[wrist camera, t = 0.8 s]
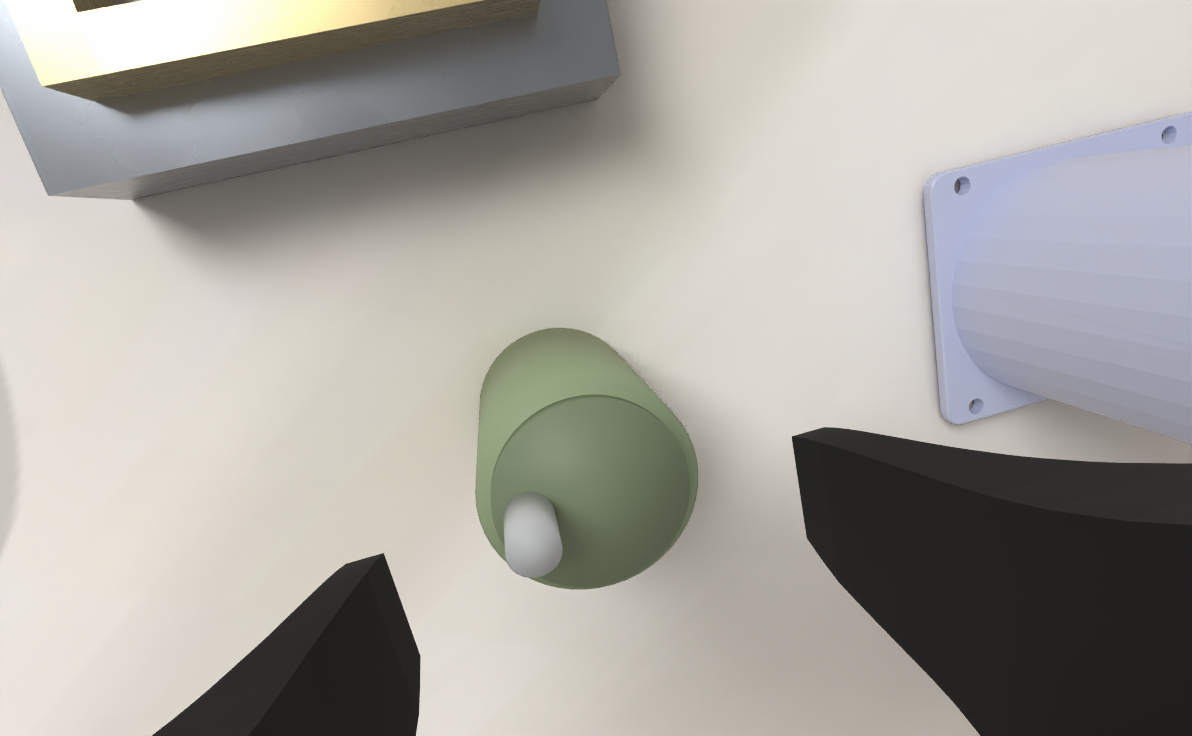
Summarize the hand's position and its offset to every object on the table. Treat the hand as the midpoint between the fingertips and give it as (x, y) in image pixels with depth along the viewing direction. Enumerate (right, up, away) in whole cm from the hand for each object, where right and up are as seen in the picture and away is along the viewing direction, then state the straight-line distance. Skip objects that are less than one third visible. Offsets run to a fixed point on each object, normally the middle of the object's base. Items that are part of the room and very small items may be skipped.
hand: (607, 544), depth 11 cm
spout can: (-1, +2, +8) cm, 8 cm away
